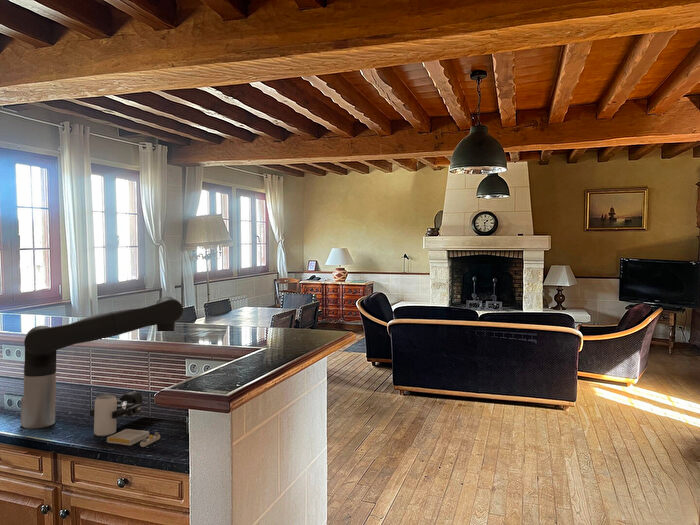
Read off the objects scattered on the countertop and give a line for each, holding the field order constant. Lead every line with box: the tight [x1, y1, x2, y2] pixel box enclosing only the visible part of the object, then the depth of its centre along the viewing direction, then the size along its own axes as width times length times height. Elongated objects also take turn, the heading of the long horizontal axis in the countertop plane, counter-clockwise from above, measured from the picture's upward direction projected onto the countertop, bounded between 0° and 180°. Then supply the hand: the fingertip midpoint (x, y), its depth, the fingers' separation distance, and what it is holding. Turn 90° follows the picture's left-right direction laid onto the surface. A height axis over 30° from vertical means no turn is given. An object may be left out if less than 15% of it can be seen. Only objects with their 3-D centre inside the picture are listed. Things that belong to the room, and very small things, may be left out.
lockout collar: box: [106, 428, 150, 446], centre depth 154 cm, size 9×9×2 cm
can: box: [93, 393, 118, 437], centre depth 160 cm, size 6×6×12 cm
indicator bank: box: [139, 431, 161, 448], centre depth 152 cm, size 1×8×2 cm, turn 165°
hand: (101, 414), depth 158 cm, fingers open, 8 cm apart
